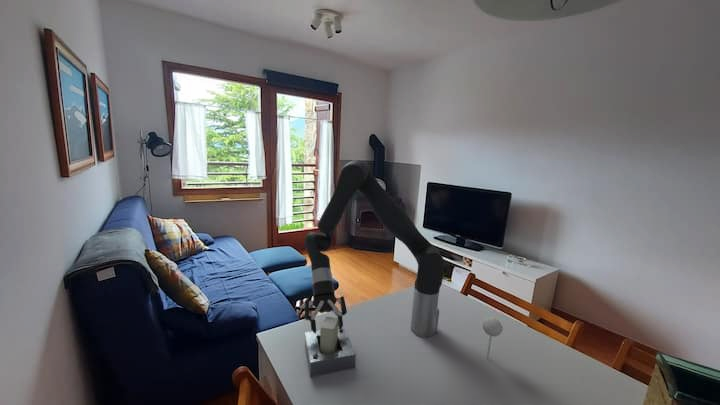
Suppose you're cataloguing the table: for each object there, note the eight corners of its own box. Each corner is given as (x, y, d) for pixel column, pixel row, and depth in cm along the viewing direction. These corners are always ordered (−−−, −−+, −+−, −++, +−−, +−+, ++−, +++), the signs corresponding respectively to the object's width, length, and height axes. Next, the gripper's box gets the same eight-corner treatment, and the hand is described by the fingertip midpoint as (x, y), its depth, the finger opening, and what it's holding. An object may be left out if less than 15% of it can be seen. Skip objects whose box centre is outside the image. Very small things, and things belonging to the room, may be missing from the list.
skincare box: (332, 364, 88) (333, 330, 86) (319, 361, 89) (320, 327, 87) (337, 350, 94) (338, 318, 92) (325, 348, 95) (326, 316, 93)
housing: (344, 338, 100) (344, 325, 99) (354, 368, 87) (355, 353, 86) (304, 345, 96) (305, 331, 95) (310, 377, 83) (310, 361, 82)
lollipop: (496, 355, 96) (502, 316, 93) (498, 367, 90) (505, 326, 87) (476, 350, 98) (482, 311, 95) (478, 361, 92) (484, 321, 89)
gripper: (303, 281, 95) (307, 332, 87) (343, 277, 100) (350, 325, 91) (301, 288, 101) (305, 336, 93) (339, 284, 106) (346, 329, 97)
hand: (327, 330), depth 92 cm, fingers open, 8 cm apart
